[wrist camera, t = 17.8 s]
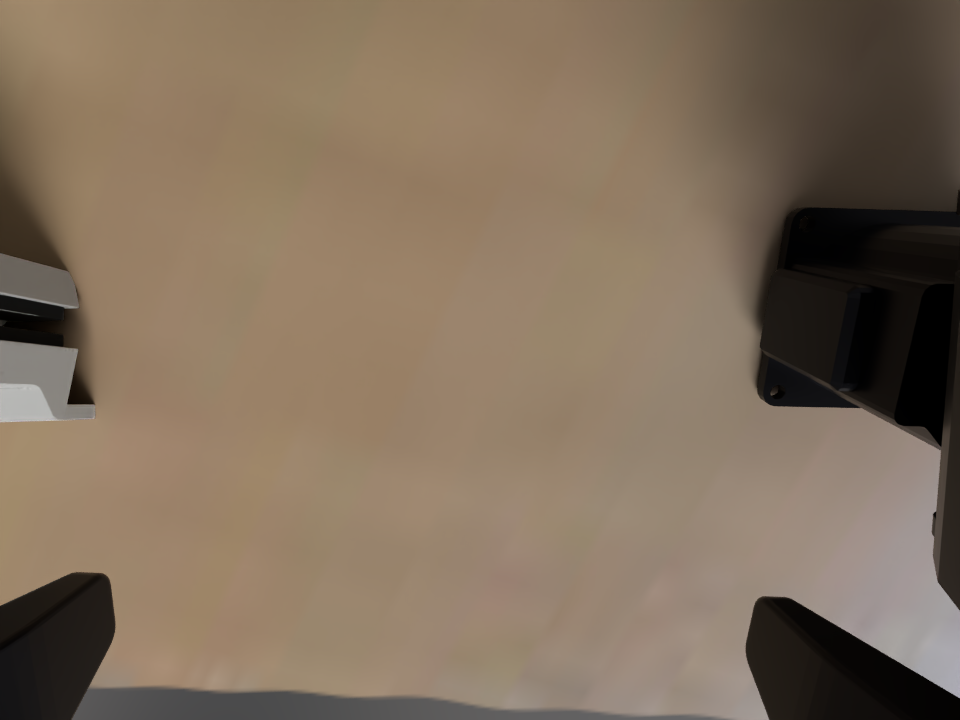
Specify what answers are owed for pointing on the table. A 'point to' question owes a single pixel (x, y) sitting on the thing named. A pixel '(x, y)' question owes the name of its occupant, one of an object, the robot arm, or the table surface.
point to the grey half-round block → (36, 344)
